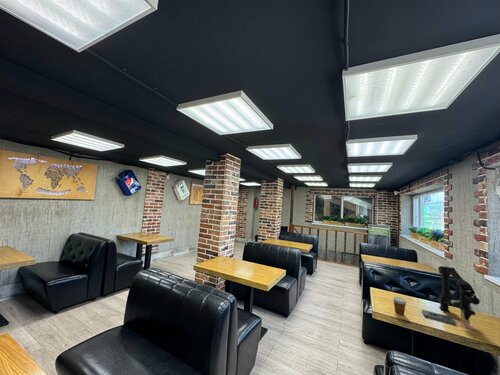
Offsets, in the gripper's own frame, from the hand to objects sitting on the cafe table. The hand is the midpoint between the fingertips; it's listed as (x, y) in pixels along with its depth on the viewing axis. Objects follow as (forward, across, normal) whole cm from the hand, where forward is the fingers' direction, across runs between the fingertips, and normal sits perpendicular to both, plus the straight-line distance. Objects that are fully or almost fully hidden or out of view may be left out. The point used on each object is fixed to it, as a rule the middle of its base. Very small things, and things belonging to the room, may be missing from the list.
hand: (465, 318), depth 167 cm
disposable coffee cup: (+5, +12, -45) cm, 47 cm away
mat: (+5, 0, 0) cm, 5 cm away
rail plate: (+5, 0, -17) cm, 18 cm away
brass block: (+3, 0, 0) cm, 3 cm away
